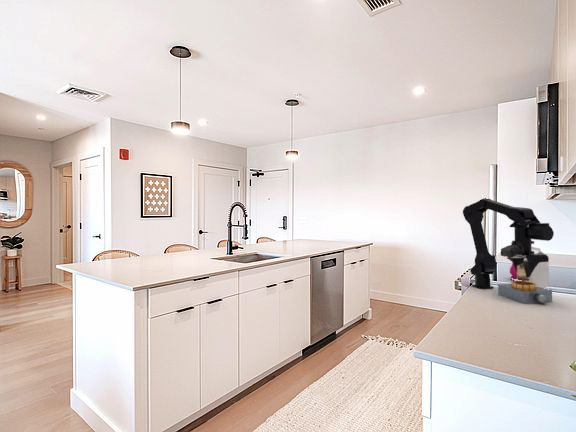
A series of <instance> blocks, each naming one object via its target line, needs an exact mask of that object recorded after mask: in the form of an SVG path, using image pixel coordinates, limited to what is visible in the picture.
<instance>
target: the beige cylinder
mask: <svg viewBox="0 0 576 432" xmlns="http://www.w3.org/2000/svg"><path fill="white" fill-rule="evenodd" d="M517 279H518V280H522V281H529V280H530V277H526V269H525V264H524V263H520V264H517Z"/></svg>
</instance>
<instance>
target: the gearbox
mask: <svg viewBox="0 0 576 432" xmlns="http://www.w3.org/2000/svg"><path fill="white" fill-rule="evenodd" d="M497 294H498V296H502V297H505V298H507V299H510V300H513V301H515V302H518V303H521V304H523V305H524V304H528V305H529V304H541V303H542V304H547V303H552V302H553V290H551V289H549V290H548V289H544V288H541V287H537V284H536V283H533V282H528V281H512V280H511V282H510V283H498V284H497Z"/></svg>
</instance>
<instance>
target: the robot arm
mask: <svg viewBox="0 0 576 432" xmlns="http://www.w3.org/2000/svg"><path fill="white" fill-rule="evenodd" d="M488 210H490V211H493V212H496V213H498V214H501V215H503V216H504V215H505V216H506V217H507V218H508V219H509V220H511V221H513V222H512V223H511V224H510V225H508V226H509V228H513V229H514V240H512V241H511V244H510V245H506V246H504V247H501V249H500V256H501V257H506V259H507V260H508V261H510V262H511V263H512V264H513V265H514V267H515V270H516V272H517V264H520V263H524V264H525V269H526V277H530V275H531V274H532V272H533V270H534V269H535V267H536V266H537V265H538V263H541V262H549V263H550V261H549V260H550V258H549V256H548V255H547V254H546V253H544V254H540V253H538V254H534V251H532V247H533V246H532V244H533V245H534V244H535V240H536V241H537V240H538V241H547V242H549V241H551V240H552V239H553V238H554V234H555V232H554V230H553V228H552V227H551V225H550V223H549V222H542V223H541V222H540V220H539V219H538V217H537V216H536V215H535V213H534V210H533V209H532V208H529V207H522V206H521V207H520V206H512V205H509V204H505V203H502V202H499V201H496V200H493V199H492V198H481V199H479V200H477V201H475V202H473V203H471V204H469V205H466V206H464V208H463V210H462V215H463V217H464V220H465V221H466V223H468V224H469V226H470V227H469V228H470V231H471V236H472V238H473V243H474V247H475V248H474V249H475V252H476V254H475V257H474V265H473V266H472V267H471V269H470V273H471V275H473V276H474V283H473V284H472V287H475V288H478V289H481V290H482V289H484V290H485V289H493V288H494V286H492V285H491V275H494V274H495V273H494V272H495V271H496V269H497V265H498V262H497V260H496V256H495V255H492V254H491V253H490V252H489V248H488V245H487V240H486V236H485V233H484V229H483V228H484V227H483V224H482V223H483V219H484V213H486V212H487V211H488ZM522 257H523V258H522ZM524 258H527V259H526V261H524Z"/></svg>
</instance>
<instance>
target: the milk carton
mask: <svg viewBox="0 0 576 432" xmlns="http://www.w3.org/2000/svg"><path fill="white" fill-rule="evenodd" d="M532 251H534V254H538V253H540V254H545V253H544V252H542V251H541V248H540V247H535V246H532ZM522 258H523V257H522ZM526 259H527V258H524V261H526ZM549 264H550V261H549V262H541V263H538V265H537V266H536V267H535V269H534V270H533V272H532V274H531V275H530V280H529V281H528V282H533V283H536V284H537V287H541V288H546V287H549V288H550V269H549V268H550V265H549Z"/></svg>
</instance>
